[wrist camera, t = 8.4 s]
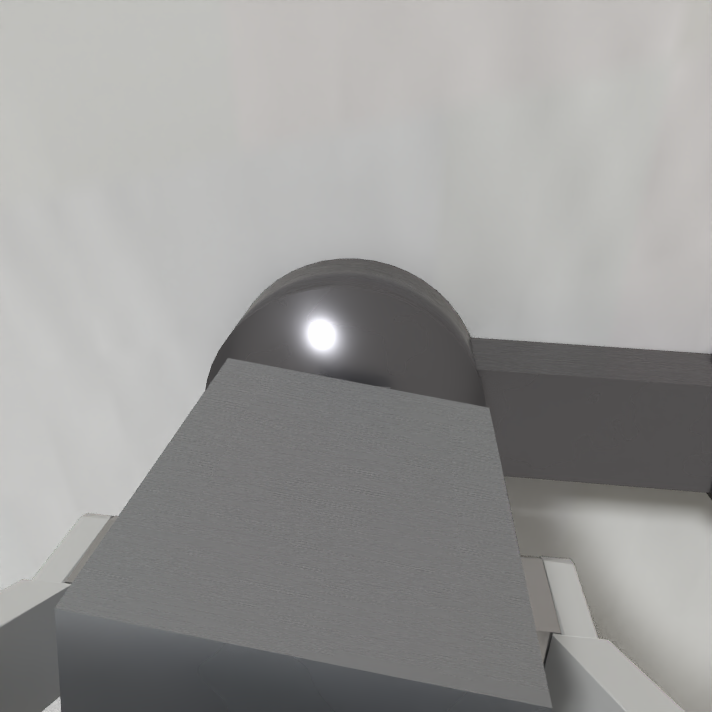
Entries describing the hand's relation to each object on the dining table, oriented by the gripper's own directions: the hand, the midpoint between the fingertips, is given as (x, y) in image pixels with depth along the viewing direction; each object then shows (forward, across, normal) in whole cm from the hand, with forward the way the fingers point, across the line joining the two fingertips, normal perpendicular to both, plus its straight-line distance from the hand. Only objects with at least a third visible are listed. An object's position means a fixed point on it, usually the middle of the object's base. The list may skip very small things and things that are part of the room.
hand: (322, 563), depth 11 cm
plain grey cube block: (+2, 0, 0) cm, 2 cm away
